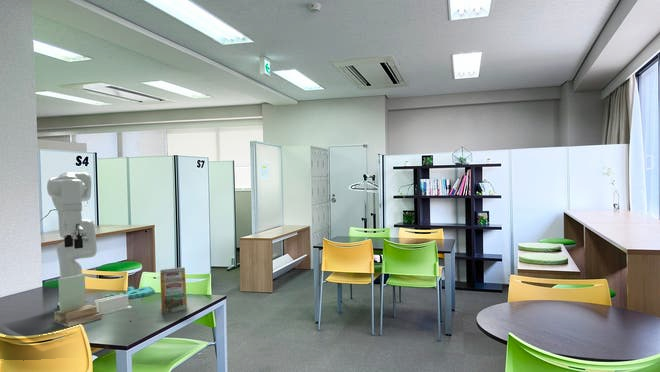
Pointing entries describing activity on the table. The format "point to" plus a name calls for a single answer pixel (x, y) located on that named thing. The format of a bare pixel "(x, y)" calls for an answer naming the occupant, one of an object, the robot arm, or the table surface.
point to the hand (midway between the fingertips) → (73, 247)
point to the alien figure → (136, 292)
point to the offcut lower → (76, 318)
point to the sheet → (72, 292)
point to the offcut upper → (79, 311)
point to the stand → (112, 304)
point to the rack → (78, 321)
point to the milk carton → (173, 290)
